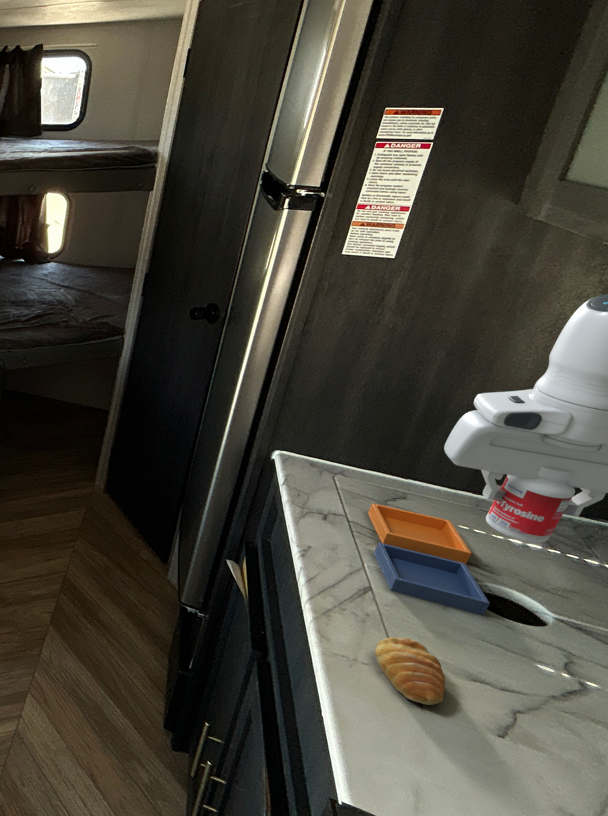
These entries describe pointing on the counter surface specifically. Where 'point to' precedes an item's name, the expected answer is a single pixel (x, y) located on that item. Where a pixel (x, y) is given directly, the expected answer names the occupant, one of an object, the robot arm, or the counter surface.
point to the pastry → (411, 669)
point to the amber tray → (418, 533)
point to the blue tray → (430, 578)
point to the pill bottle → (532, 505)
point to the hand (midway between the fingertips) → (527, 505)
